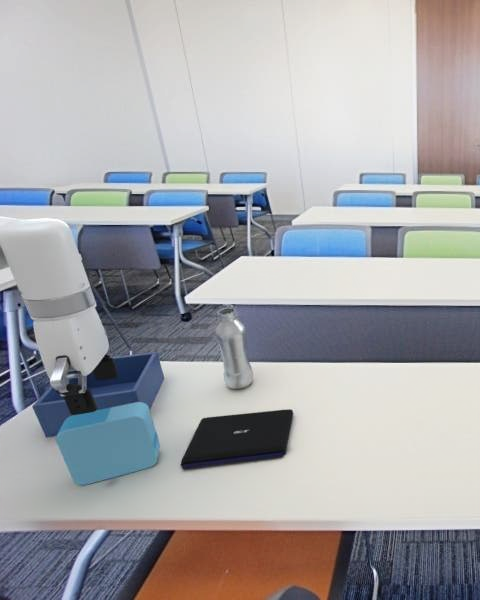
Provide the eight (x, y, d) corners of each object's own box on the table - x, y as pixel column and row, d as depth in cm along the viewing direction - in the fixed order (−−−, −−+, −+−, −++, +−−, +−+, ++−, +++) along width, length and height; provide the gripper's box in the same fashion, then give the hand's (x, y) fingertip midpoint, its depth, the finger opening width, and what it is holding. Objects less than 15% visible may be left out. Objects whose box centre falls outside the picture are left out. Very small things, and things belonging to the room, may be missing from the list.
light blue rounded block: (162, 449, 78) (146, 399, 73) (159, 465, 74) (142, 414, 70) (83, 469, 73) (61, 417, 68) (75, 488, 69) (52, 433, 64)
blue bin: (45, 437, 79) (31, 406, 77) (81, 389, 94) (70, 362, 91) (145, 420, 85) (135, 391, 82) (164, 378, 99) (157, 351, 96)
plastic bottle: (226, 395, 94) (211, 319, 87) (224, 380, 100) (209, 308, 92) (256, 387, 98) (244, 314, 90) (252, 374, 103) (240, 303, 95)
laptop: (279, 469, 75) (278, 461, 74) (168, 471, 73) (165, 463, 73) (302, 414, 90) (301, 407, 89) (210, 414, 88) (208, 407, 87)
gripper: (57, 285, 67) (90, 371, 73) (-7, 330, 52) (42, 433, 59) (112, 280, 69) (139, 364, 76) (66, 323, 54) (104, 422, 61)
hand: (97, 394), depth 67 cm, fingers open, 9 cm apart
